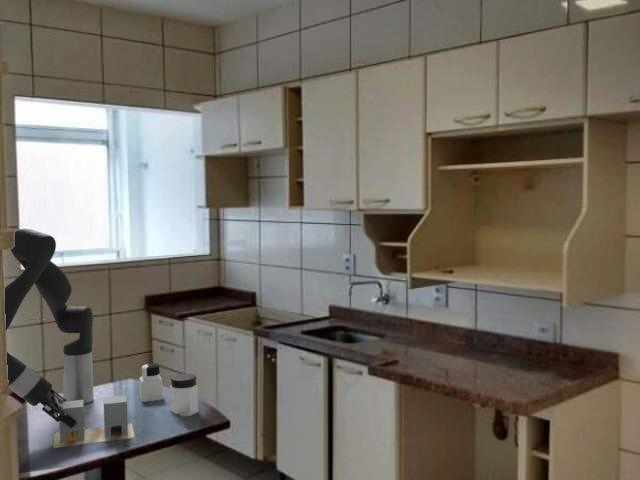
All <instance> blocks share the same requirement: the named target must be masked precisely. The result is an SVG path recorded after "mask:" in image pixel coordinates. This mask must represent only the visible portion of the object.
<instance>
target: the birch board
mask: <svg viewBox="0 0 640 480" xmlns="http://www.w3.org/2000/svg"><path fill="white" fill-rule="evenodd" d="M127 424H128V435H122V428H121V429H113V430H111V437H106V438H105V431H104V426H100V427H91V428H90V427H89V428H84V432H85V433H84V440H83V441H78V440H71V441H67V443H60V431H58V432H55V434H54V439H53V447H52V448H53V449H55V448H56V449H57V448H63V447H72V446H80V445H88V444H89V445H90V444H95V443H101V442H103V443H104V442H111V441H117V440H127V439H133V438H136V437H135V433H134V427H133V423H127Z"/></svg>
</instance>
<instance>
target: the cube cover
mask: <svg viewBox="0 0 640 480" xmlns="http://www.w3.org/2000/svg"><path fill="white" fill-rule="evenodd" d="M60 403H61V405H62V406H63V410H64V411H65V412H66V414H68V415H69V416H70V417H72V418H73V419H74V420H75V421H76V422H77V423H76V425H75V426H74V427H73V428H70V427H69V426H67V425H66V424H65V423H63V422H62V421H59V432H60V443H67V432H74V431H78V441H83V440H84V433H85V432H84V429H85V411H84V410H85V404H84V400H76V401H67V402H60ZM59 415H60V414H58V416H59Z"/></svg>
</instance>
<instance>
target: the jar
mask: <svg viewBox="0 0 640 480" xmlns="http://www.w3.org/2000/svg"><path fill="white" fill-rule="evenodd" d="M198 389H199V388H198V384H197V375H195V374H193V373H177V374H175V375H173V376H171V377H170V385H169V400H170V401H169V404H170V406H169V407H170V411H171V412H172V413H174V414H175V415H180V418H181V417H182V418H183V417H191V416H193V415H195V414H197V413H198V412H199V395H198V394H199V390H198Z"/></svg>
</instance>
